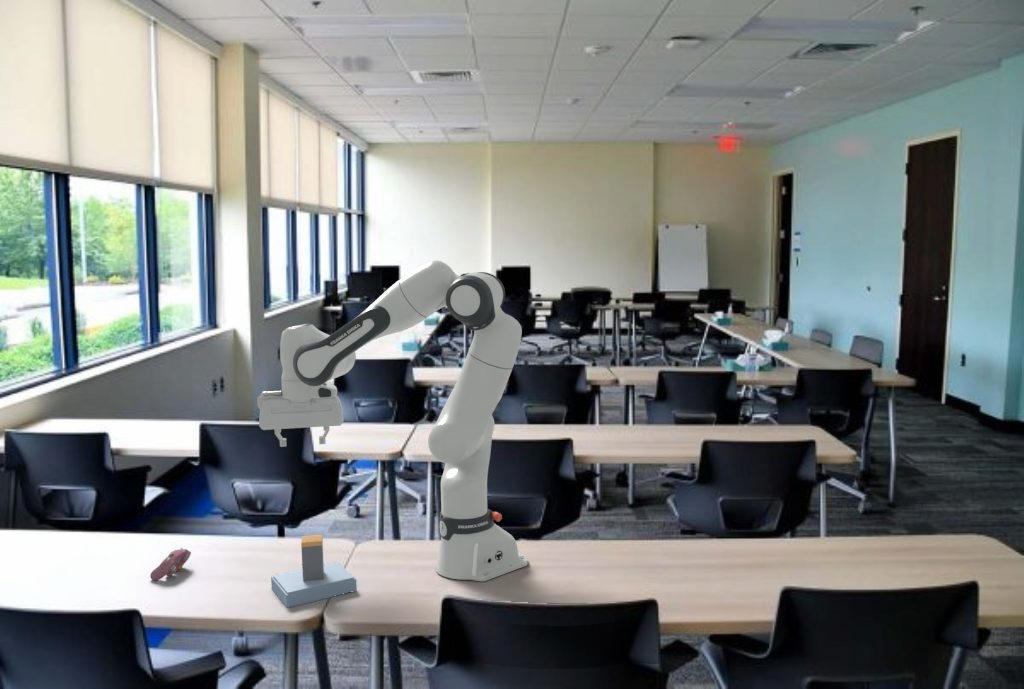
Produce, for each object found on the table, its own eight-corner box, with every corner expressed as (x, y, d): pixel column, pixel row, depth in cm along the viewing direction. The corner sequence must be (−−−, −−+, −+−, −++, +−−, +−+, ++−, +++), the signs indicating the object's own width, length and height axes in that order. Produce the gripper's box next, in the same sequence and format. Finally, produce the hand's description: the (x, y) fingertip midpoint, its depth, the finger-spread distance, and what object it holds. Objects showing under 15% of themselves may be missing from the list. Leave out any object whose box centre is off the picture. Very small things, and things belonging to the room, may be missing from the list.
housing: (303, 573, 192) (302, 535, 191) (323, 571, 193) (322, 534, 192) (303, 581, 187) (301, 542, 186) (323, 579, 188) (321, 541, 187)
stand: (338, 573, 200) (338, 560, 199) (356, 591, 190) (356, 577, 189) (271, 588, 191) (271, 575, 191) (286, 607, 181) (286, 593, 181)
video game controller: (163, 588, 196) (174, 563, 195) (147, 579, 197) (157, 554, 195) (186, 572, 206) (197, 548, 205) (171, 563, 206) (181, 539, 205)
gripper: (255, 394, 200) (258, 450, 201) (342, 390, 204) (344, 445, 205) (257, 389, 206) (260, 444, 207) (342, 385, 210) (344, 439, 211)
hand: (302, 444), depth 206 cm, fingers open, 8 cm apart
